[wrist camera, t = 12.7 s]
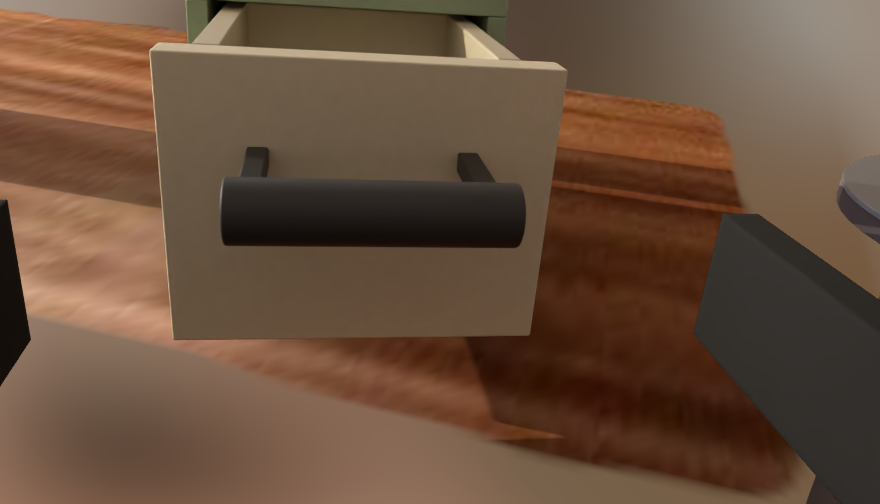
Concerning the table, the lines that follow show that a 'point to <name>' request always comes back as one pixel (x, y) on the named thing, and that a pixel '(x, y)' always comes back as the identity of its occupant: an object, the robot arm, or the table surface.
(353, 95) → the drawer
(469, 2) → the cabinet
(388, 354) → the table surface
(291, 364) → the table surface
